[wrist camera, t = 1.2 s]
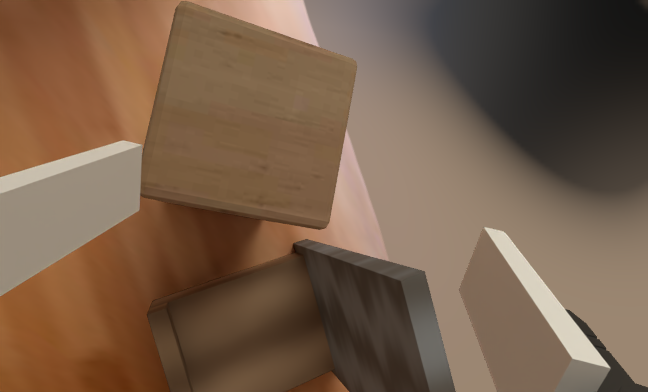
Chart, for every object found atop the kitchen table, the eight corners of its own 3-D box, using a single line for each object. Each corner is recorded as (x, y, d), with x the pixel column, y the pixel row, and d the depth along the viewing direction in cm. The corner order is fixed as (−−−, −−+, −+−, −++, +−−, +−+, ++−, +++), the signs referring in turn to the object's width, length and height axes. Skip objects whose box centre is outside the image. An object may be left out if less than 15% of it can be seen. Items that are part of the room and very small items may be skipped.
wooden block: (263, 220, 40) (330, 231, 21) (162, 201, 36) (131, 195, 18) (282, 127, 41) (361, 58, 22) (184, 101, 37) (177, -7, 18)
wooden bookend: (149, 290, 36) (92, 405, 15) (306, 239, 41) (424, 271, 20) (191, 428, 37) (192, 715, 16) (339, 360, 42) (486, 511, 21)
